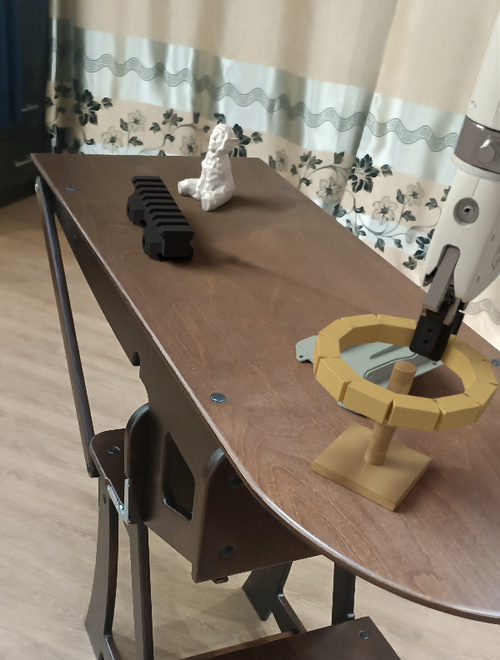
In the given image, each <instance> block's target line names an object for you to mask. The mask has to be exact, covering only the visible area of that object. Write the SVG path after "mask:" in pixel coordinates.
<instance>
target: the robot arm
mask: <svg viewBox="0 0 500 660" xmlns="http://www.w3.org/2000/svg"><path fill="white" fill-rule="evenodd" d="M483 56H484V57H483V59H482V62H481V65H480V68H479V72H478V74H477V77H476V81H475V84H474V87H473V89H472V93H471V96H470V99H469V102H468V105H467V107H466V111H465V114H464V117H463V121H462V124H461V127H460V130H459V132H458V136H457V138H456V142H455V144H454V148H453V151H452V155H451V156H450V157H451V158H450V159H451V162H452V163H453V164H454V165H456V166H457V167H458V170H457V172H456V175H455V178H454V179H453V182H452V184H451V187H450V189H449V191H448V193H447V197H446V199H445V202H444V205H443V207H442V210H441V212H440V215H439V218H438V220H437V223H436V226H435V229H434V232H433V234H432V237H431V239H430V242H429V246H428V248H427V252H426V254H425V258H424V261H423V263H422V268H421V271H420V274H419V275H420V277H419V281H420V282H419V283H420V284H421V286H422V287H423V288H426V287H428V286H429V288H428V290H427V293H426V295H425V297H424V299H423V301H422V305H421V307H422V308H421V311H420V315H419V317H418V320H417V322H416V324H417V326H416V329H415V332H414V335H413V338H412V340H411V343H410V346H409V349H410V351H411V352H413V353H416V354H418V355H421V356H423V357H425V358H428V359H430V360H432V361H435V362H438V361H440V360H441V358H442V356H443V354H444V351H445V348H446V346H447V343H448V341H449V338H450V335H451V334H453V335H456V337H457V336H458V334H459V331H460V330H461V326H462V323H463V321H464V318H465V316H466V313H465V311H466V310H467V308H468V306H469V305H470V304H469V303H470V302H471V301H474V300H475V299H476V298H477V297H479V296H480V295H481V294H482V293H483V292H484V291H485V290H486V289H487V288H488V287H489V286H490V285H492V283H493V282H494V281H495V280H496V279H497V278H498V277H499V275H500V9H498V13H497V16H496V18H495V22H494V25H493V28H492V32H491V33H490V37H489V41H488V44H487V45H486V50H485V53H484V55H483Z"/></svg>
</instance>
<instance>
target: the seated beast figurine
mask: <svg viewBox="0 0 500 660" xmlns="http://www.w3.org/2000/svg"><path fill="white" fill-rule="evenodd" d="M209 137H210V138H209V141H208V147H207V150H208V151H207V153H206V154H205V158H204V159H203V160H202V161H201V163H200V164H201V175H200V177H198V178H191V177H190V178H185V179H184V180H181V181H178V182H177V192H178V194H179V195H182V196H190V197H192V198H194V199H196V201H200V203H201V208H202V210H203V211H205V212H209V211H213V210H214V211H215V210H216V209H217V208H220V206H222V205H224V204H225V203H227V202H228V201H230V200H231V199H232V197H233V194H234V192H235V191H236V187H237V186H236V183H235V179H234V176H233V174H232V163H231V160H230V158H229V156H228V154H230V153H231V152H232V151H233V149H235V148H236V147H238V146H239V144H240V138H239V137H237V135H236V134H235V131H234V129H231V128H230V127H229V126H228V125H226V124H225V123H222V122H220V123H218V124H217V125H215V127H214V128H213V129H212V134H210V135H209Z"/></svg>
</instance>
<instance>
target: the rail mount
mask: <svg viewBox="0 0 500 660" xmlns="http://www.w3.org/2000/svg"><path fill="white" fill-rule="evenodd" d="M130 181H131V183H132V185H133V187H134V192H132V193H131V194H130V195H129V196H128V197H127V202H126V217H127V219H128V218H129V219H128V221H130V222H131V223H132V225H133V224H135V225H134V226H137V227H140V228H143V229H142V236H141V246H142V248H141V249H142V251H143V253H144V254H146V255H147V256H148V258H149V259H151V260H154V261H156V262H161V259H160V257H159V256H158V254H160V253H161V254H162V256H163V257H183V258H184V260H185V262H186V263H190V262H192V261H193V260H194V255H195V247H194V246H193V244H192V240H193V239H194V238H195V236H196V233H195V231H194V229H193V228H192V227H191V224H190V222H189V221H188V220H187V218H186V216H185V215H184V214H183V211H182V210H181V209H180V206H179V205H178V203H177V202H176V201H175V199H174V197H173V196H172V193H171V191H169V189H168V187H167V185H166V184H165V182H164V181H163V179H162V178H161V177H160V176H159V175H158V176H157V175H155V176H154V175H133V176H132V177H131V180H130ZM142 220H144V221H145V223H146V226H144V225H143V224H142V222H141V221H142Z"/></svg>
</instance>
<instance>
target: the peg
mask: <svg viewBox="0 0 500 660" xmlns="http://www.w3.org/2000/svg"><path fill="white" fill-rule="evenodd" d="M416 371H417V367H416V366H415V365H414V364H412V363H410V362H407V361H397V362H396V363H395V365H394V368H393V371H392V374H391V377H390V380H389V383H388V386H387V390H389V391H392V392H394V393H397V394H403V395H409V393H410V390H411V388H412V386H413V381H414V379H415V377H414V376H415V374H416ZM396 429H397V427H395V426H389V425H388V423H387V419H386V420H385V421H384V422H383V423H379V422H377V421H375V423H374V426H373V429H371V428H369V427H367V426H364V425H362V424H360V423H358V422H356V421H353V422H352V423H351V424H350V425H349V426H348V427H346V429H344V431H343V432H341V434H340V435H338V437H336V439H334V440H333V441H332V442H331V443H330V444H329V445H328V446H327V447H326V448H325V449H324V450H323V451H322V452H321V453H320V454H319V455H318V456H317V457H315V459H314V460H313V462H312V467H311V470H312V471H313V472H315V473H317V474H318V475H321V476H322V477H324V478H327V479H328V480H330V481H333V482H335V483H337V484H339V485H340V486H342V487H344V488H346V489H347V490H350V491H352V492H354V493H355V494H358V495H360V496H362V497H364V498H366V499H368V500H370V501H372V502H374V503H375V504H377V505H379V506H381V507H382V508H385V509H387V510H389V511H391V512H394V511H395V510H396V508H398V506H399V505H400V503H401V502H402V501H403V500H404V498H405V497H406V496H407V495H408V493H409V492H410V491H411V490H412V488H414V486H415V484H416V483H417V482H418V481H419V479H420V478H421V477H422V476H423V474H425V472H426V471H427V469H429V466H430V464H431V461H432V457H430V456H428V455H426V454H424V453H421V452H419V451H418V450H415V449H413V448H411V447H410V446H409V447H408V446H407V445H404V444H403V443H400V442H399V441H396V440H394V439H393V438H394V435H395V433H396Z"/></svg>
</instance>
